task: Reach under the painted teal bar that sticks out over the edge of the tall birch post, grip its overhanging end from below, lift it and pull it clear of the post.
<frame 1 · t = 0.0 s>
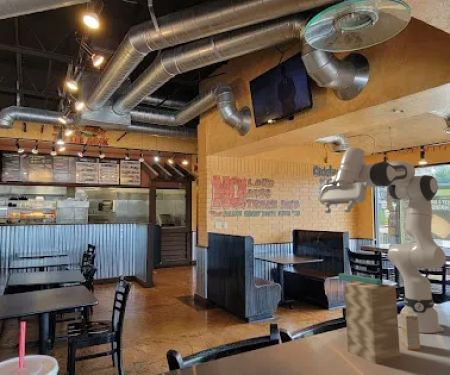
hand: (336, 212, 142), 54 cm above the table, tool tilted 30°, fingers open, 8 cm apart
birch post: (373, 354, 137), on the table
teal bar: (358, 282, 145), point 26 cm above the table, touching birch post
supplement box: (411, 347, 145), on the table
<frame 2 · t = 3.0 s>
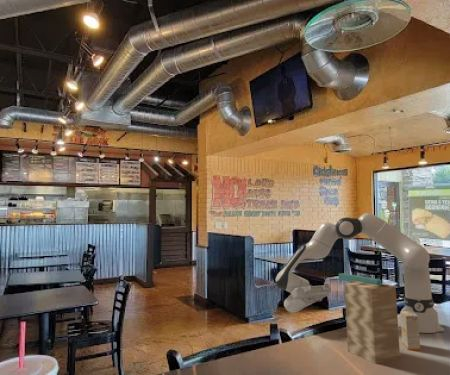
hand: (320, 286, 167), 21 cm above the table, tool pointing upward, fingers open, 8 cm apart
nothing on the table moved.
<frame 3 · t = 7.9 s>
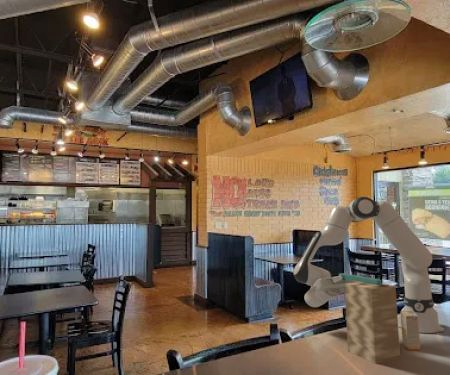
hand: (346, 276, 152), 28 cm above the table, tool pointing upward, fingers closed on teal bar, 2 cm apart
teal bar: (358, 282, 145), point 26 cm above the table, touching birch post, gripper
everything else where it was.
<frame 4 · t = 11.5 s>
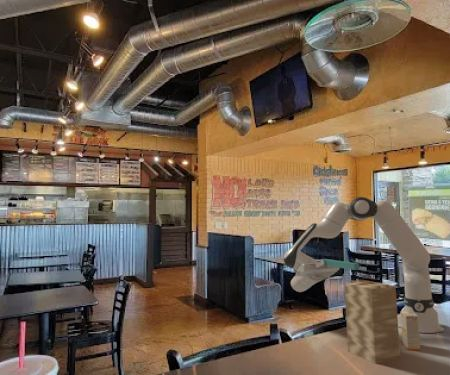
hand: (327, 261, 162), 33 cm above the table, tool pointing upward, fingers closed on teal bar, 2 cm apart
teal bar: (339, 266, 156), point 31 cm above the table, touching gripper
everything else where it was.
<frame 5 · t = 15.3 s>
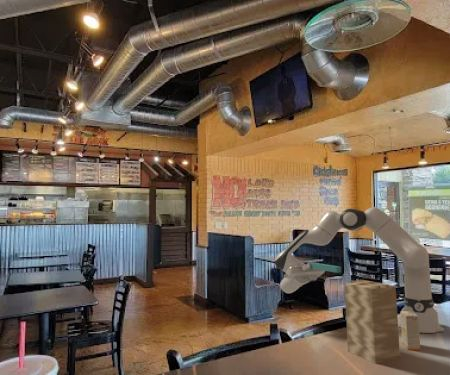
hand: (313, 264, 172), 30 cm above the table, tool pointing upward, fingers closed on teal bar, 2 cm apart
teal bar: (323, 269, 165), point 29 cm above the table, touching gripper
everything else where it was.
at the end: teal bar touching gripper; the gripper is holding teal bar; teal bar moved 22.2 cm from its start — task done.
